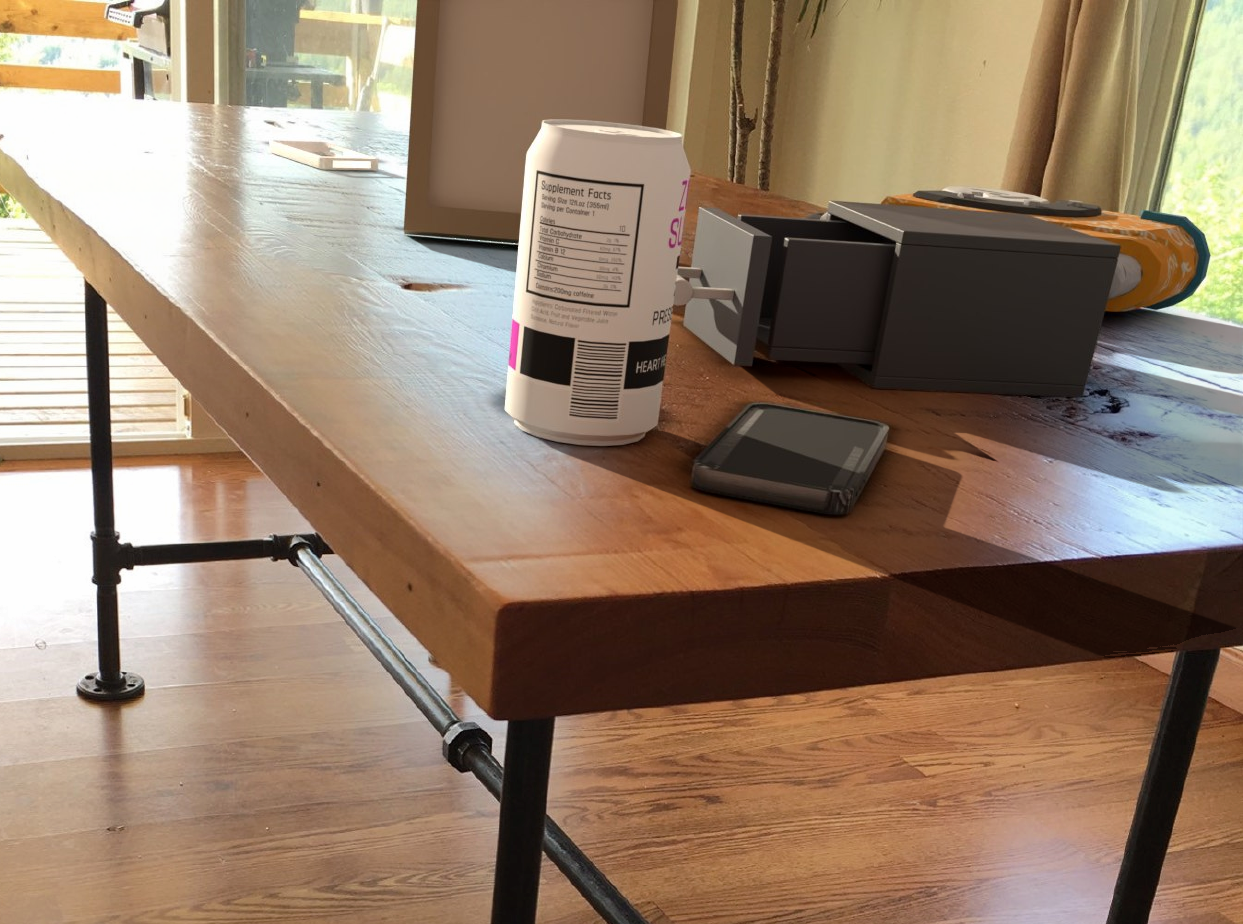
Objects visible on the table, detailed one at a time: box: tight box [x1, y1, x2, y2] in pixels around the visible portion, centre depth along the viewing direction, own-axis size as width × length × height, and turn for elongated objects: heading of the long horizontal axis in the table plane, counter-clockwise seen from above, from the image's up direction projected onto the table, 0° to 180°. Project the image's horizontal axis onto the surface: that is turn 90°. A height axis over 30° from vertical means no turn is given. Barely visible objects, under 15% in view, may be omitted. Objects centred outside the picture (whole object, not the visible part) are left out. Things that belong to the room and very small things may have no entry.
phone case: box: [269, 139, 379, 172], centre depth 177 cm, size 7×1×15 cm
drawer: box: [673, 206, 898, 367], centre depth 98 cm, size 18×11×8 cm, turn 100°
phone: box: [689, 401, 890, 516], centre depth 78 cm, size 8×1×15 cm
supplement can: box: [504, 119, 692, 447], centre depth 78 cm, size 8×8×15 cm
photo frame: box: [403, 0, 679, 245], centre depth 133 cm, size 15×22×25 cm
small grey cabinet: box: [826, 200, 1121, 399], centre depth 101 cm, size 15×13×10 cm
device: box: [804, 185, 1211, 312], centre depth 130 cm, size 23×8×30 cm
